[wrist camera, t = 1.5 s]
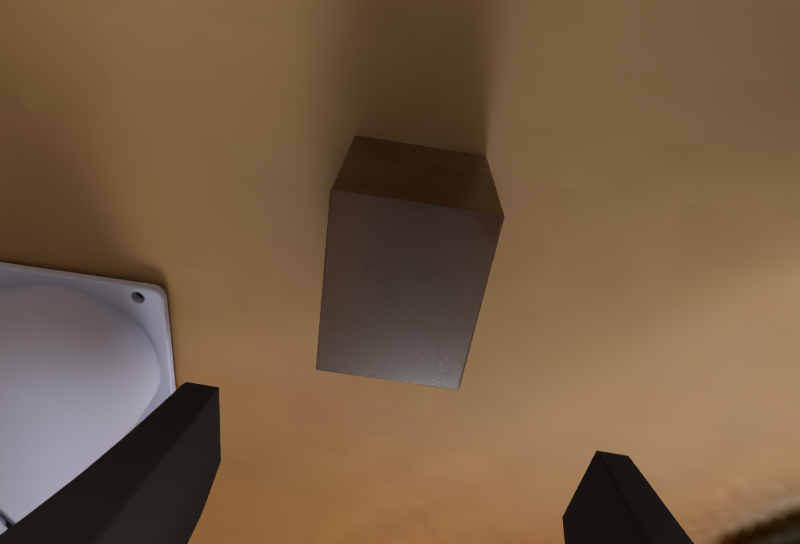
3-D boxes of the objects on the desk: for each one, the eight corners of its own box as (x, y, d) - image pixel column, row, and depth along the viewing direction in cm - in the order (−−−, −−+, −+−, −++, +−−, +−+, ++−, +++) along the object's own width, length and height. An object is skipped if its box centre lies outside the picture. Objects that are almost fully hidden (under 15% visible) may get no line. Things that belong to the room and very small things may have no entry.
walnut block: (339, 286, 21) (315, 370, 16) (354, 135, 18) (329, 188, 13) (452, 302, 21) (459, 390, 16) (486, 155, 18) (505, 215, 13)
